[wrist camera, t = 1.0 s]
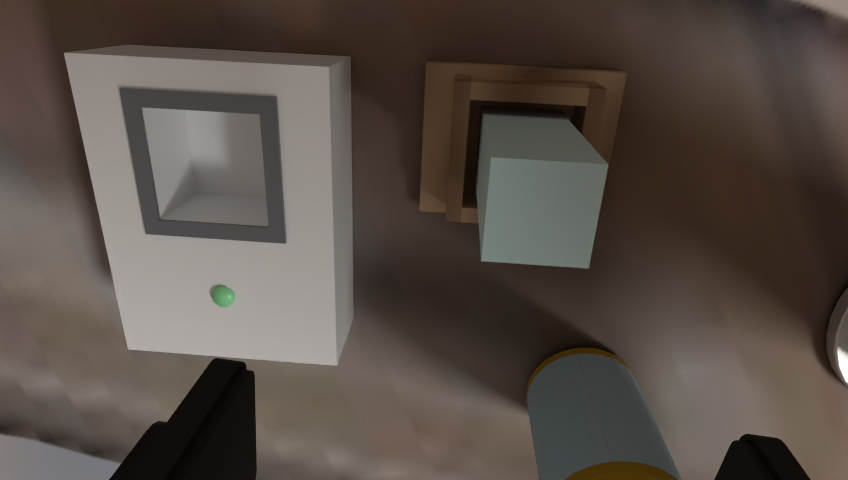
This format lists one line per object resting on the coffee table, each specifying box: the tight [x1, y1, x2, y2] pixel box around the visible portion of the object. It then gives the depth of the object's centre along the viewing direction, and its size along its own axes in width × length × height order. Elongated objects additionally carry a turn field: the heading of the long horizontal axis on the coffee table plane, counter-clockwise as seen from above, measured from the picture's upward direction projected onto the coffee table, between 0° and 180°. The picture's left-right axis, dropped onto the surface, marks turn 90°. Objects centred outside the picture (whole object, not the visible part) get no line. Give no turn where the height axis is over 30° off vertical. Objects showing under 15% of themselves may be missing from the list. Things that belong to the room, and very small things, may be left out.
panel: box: [64, 45, 354, 366], centre depth 29 cm, size 12×16×5 cm
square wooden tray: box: [419, 61, 627, 223], centre depth 28 cm, size 10×8×4 cm
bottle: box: [527, 348, 682, 480], centre depth 29 cm, size 7×7×15 cm
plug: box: [475, 105, 608, 269], centre depth 24 cm, size 4×4×10 cm
